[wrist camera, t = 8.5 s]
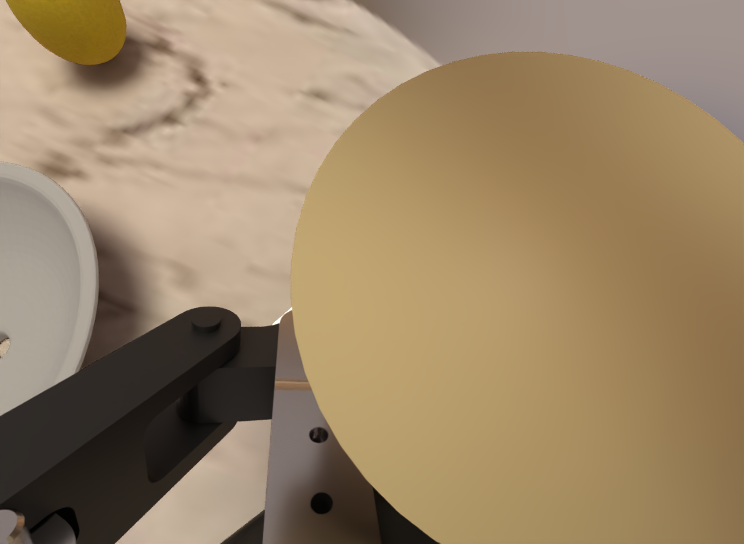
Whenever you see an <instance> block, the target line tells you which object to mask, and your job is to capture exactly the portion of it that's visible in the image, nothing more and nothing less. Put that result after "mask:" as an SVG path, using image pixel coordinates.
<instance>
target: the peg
mask: <svg viewBox="0 0 744 544" xmlns="http://www.w3.org/2000/svg"><path fill="white" fill-rule="evenodd" d="M291 305H292V313H293V322H294V330H295V336H296V340H297V344H298V348H299V352H300V355H301V359H302V363H303V367H304V371H305V374H306V376H307V379H308V381H309V383H310V386H311V388H312V391H313V393H314V396H315V398H316V401H317V403H318V406H319V408H320V410H321V412H322V414H323V415H324V417H325V419H326V421H327V423H328V424H329V426H330V428H331V430H332V431H333V433H334V435H335V437H336V438H337V440H338V442H339V444H340V445H341V447H342V448H343V449H344V451H345V452H346V453H347V455H348V456H349V457H350V459H351V460H352V461H353V463H354V464H355V465H356V467H357V468H358V469H359V471H360V472H361V473H362V475H363V476H364V477H365V479H366V480H367V481H368V482H369V483H370V484H371V485H372V486H373V487H374V488H375V489H376V490H377V491H378V492H379V493H380V494H381V495H382V496H383V497H384V498H385V499H386V500H387V501H388V502H389V503H390V504H391V505H392V506H393V507H394V508H395V509H396V510H397V511H398V512H399V513H400V514H401V515H403V516H404V517H405V518H406V519H408V520H409V521H410V522H412V523H413V524H414V525H415V526H417V527H418V528H419V529H421V530H422V531H423V532H424V533H426V534H427V535H428V536H430V537H431V538H432V539H433V540H435V541H437V542H439V543H440V544H744V144H743V142H742V141H740V139H739V138H737V137H736V136H735V135H734V134H733V133H731V132H730V131H729V130H728V129H727V128H726V127H724V126H723V125H722V124H721V123H719V122H718V121H717V120H716V119H715V118H714V117H712V116H711V115H709V114H708V113H706V112H705V111H704V110H702V109H700V108H699V107H698V106H696V105H695V104H693V103H692V102H690V101H689V100H688V99H686V98H684V97H682V96H681V95H679V94H677V93H675V92H673V91H672V90H670V89H668V88H666V87H664V86H662V85H661V84H659V83H657V82H654V81H652V80H650V79H647V78H645V77H643V76H640V75H638V74H636V73H633V72H631V71H629V70H625V69H622V68H619V67H616V66H613V65H610V64H607V63H604V62H600V61H595V60H591V59H586V58H581V57H577V56H572V55H563V54H555V53H545V52H507V53H498V54H489V55H481V56H477V57H472V58H468V59H464V60H459V61H454V62H452V63H449V64H446V65H443V66H440V67H438V68H435V69H432V70H429V71H426V72H424V73H422V74H421V75H419V76H417V77H415V78H413V79H411V80H409V81H407V82H405V83H403V84H401V85H399V86H398V87H396V88H395V89H393V90H392V91H390V92H389V93H387V94H386V95H384V96H383V97H381V98H380V99H378V100H377V101H376V102H375V103H374V104H373V105H371V106H370V107H369V108H368V109H367V110H366V111H365V112H363V113H362V114H361V115H360V116H359V117H358V118H357V119H356V120H355V121H354V122H353V123H352V124H351V125H350V126H349V128H348V129H347V130H346V131H345V132H344V133H343V135H342V136H341V137H340V138H339V139H338V140H337V142H336V143H335V144H334V146H333V147H332V149H331V151H330V152H329V154H328V155H327V157H326V158H325V160H324V161H323V163H322V164H321V166H320V168H319V170H318V172H317V174H316V176H315V178H314V180H313V182H312V185H311V187H310V189H309V191H308V193H307V195H306V198H305V201H304V205H303V208H302V211H301V215H300V218H299V221H298V224H297V228H296V234H295V240H294V247H293V253H292V260H291Z"/></svg>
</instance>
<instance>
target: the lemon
mask: <svg viewBox="0 0 744 544" xmlns="http://www.w3.org/2000/svg"><path fill="white" fill-rule="evenodd" d="M6 2H7V3H8V5H9V7H10V9H11V10H12V12H13V14H14V15H15V16H16V18H17V19H18V21H19V22H20V23H21V24H22V25H23V27H24V28H25V29H26V30H27V31H28V32H29V33H30V34H31V35H32V36H33V38H34V39H35V40H37V41H38V42H39V43H40V44H41V45H42V46H44V47H45V48H46V49H48V50H49V51H51V52H52V53H54V54H56V55H57V56H59V57H61V58H63V59H65V60H68V61H71V62H74V63H77V64H84V65H96V64H101V63H104V62H107V61H109V60H111V59H112V58H114V57H115V56H116V55H117V54H118V53H119V51H120V50H121V49H122V47H123V45H124V42H125V39H126V19H125V15H124V12H123V9H122V6H121V3H120V0H6Z"/></svg>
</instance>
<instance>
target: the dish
mask: <svg viewBox="0 0 744 544" xmlns="http://www.w3.org/2000/svg"><path fill="white" fill-rule="evenodd" d="M98 293H99V266H98V259H97V251H96V247H95V243H94V239H93V236H92V233H91V230H90V228H89V225H88V223H87V221H86V219H85V217H84V215H83V213H82V211H81V210H80V208H79V207H78V205H77V204H76V203H75V201H74V200H73V198H72V197H71V196H70V195H69V194H68V193H67V192H66V191H65V190H64V189H63V188H62V187H61V186H60V185H58V184H57V183H56V182H55V181H53V180H52V179H50V178H48V177H47V176H45V175H44V174H42V173H39V172H37V171H35V170H33V169H30V168H27V167H24V166H21V165H17V164H13V163H8V162H2V161H0V342H1V341H2V340H4V339H6V338H10V346H9V349H8V351H7V353H6V354H5V355H4V356H3V357H2V358H1V357H0V416H1V415H3V414H4V413H6V412H8V411H10V410H11V409H13V408H15V407H17V406H19V405H20V404H22V403H24V402H26V401H27V400H29V399H31V398H33V397H34V396H36V395H38V394H40V393H42V392H43V391H45V390H47V389H49V388H50V387H52V386H54V385H56V384H57V383H59V382H61V381H63V380H65V379H66V378H68V377H70V376H72V375H73V374H75V373H77V372H79V370H80V368H81V365H82V363H83V360H84V358H85V355H86V351H87V348H88V345H89V342H90V339H91V335H92V331H93V327H94V322H95V318H96V311H97V304H98Z"/></svg>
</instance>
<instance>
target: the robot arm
mask: <svg viewBox="0 0 744 544" xmlns="http://www.w3.org/2000/svg"><path fill="white" fill-rule="evenodd" d="M268 419H272V423H271V436H270V449H269V462H268V475H267V488H266V501H265V510H263V511H262V512H261V513H259V514H258V515H257V516H256V517H254V518H253V519H252V520H250V521H249V522H248V523H246V524H245V525H244V526H243V527H241V528H240V529H239V530H237V531H236V532H235V533H234V534H232V535H231V536H230V537H228V538H227V539H226V540H225V541H223V542H222V543H221V544H440V543H439V542H437V541H435V540H433V539H432V538H431V537H430V536H428V535H427V534H426V533H424V532H423V531H422V530H421V529H419V528H418V527H417V526H415V525H414V524H413V523H412V522H410V521H409V520H408V519H406V518H405V517H404V516H403V515H401V514H400V513H399V512H398V511H397V510H396V509H395V508H394V507H393V506H392V505H391V504H390V503H389V502H388V501H387V500H386V499H385V498H384V497H383V496H382V495H381V494H380V493H379V492H378V491H377V490H376V489H375V488H374V487H373V486H372V485H371V484H370V483H369V482H368V481H367V480H366V479H365V477H364V476H363V475H362V473H361V472H360V471H359V469H358V468H357V467H356V465H355V464H354V463H353V461H352V460H351V459H350V457H349V456H348V455H347V453H346V452H345V451H344V449H343V448H342V447H341V445H340V444H339V442H338V440H337V438H336V437H335V435H334V433H333V431H332V430H331V428H330V426H329V424H328V423H327V421H326V419H325V417H324V415H323V414H322V412H321V410H320V408H319V406H318V403H317V401H316V398H315V396H314V393H313V391H312V388H311V386H310V383H309V381H308V379H307V376H306V374H305V371H304V367H303V363H302V359H301V355H300V352H299V348H298V344H297V340H296V336H295V330H294V322H293V313H292V310H291V311H289V312H287V313H286V314H284V315H283V316H282V318H281V319H280V323H278V324H275V325H271V326H264V327H241V321H240V319H239V317H238V316H237V315H236V314H235V313H233V312H231V311H230V310H227V309H224V308H220V307H198V308H194V309H190V310H188V311H185V312H183V313H181V314H179V315H178V316H176V317H174V318H172V319H171V320H169V321H167V322H165V323H164V324H162V325H160V326H158V327H156V328H155V329H153V330H151V331H149V332H148V333H146V334H144V335H142V336H141V337H139V338H137V339H135V340H133V341H132V342H130V343H128V344H126V345H125V346H123V347H121V348H119V349H118V350H116V351H114V352H112V353H111V354H109V355H107V356H105V357H103V358H102V359H100V360H98V361H96V362H95V363H93V364H91V365H89V366H88V367H86V368H84V369H82V370H80V371H79V372H77V373H75V374H73V375H72V376H70V377H68V378H66V379H65V380H63V381H61V382H59V383H57V384H56V385H54V386H52V387H50V388H49V389H47V390H45V391H43V392H42V393H40V394H38V395H36V396H34V397H33V398H31V399H29V400H27V401H26V402H24V403H22V404H20V405H19V406H17V407H15V408H13V409H11V410H10V411H8V412H6V413H4V414H3V415H1V416H0V544H115V543H116V542H117V541H118V540H119V539H120V538H121V537H122V536H123V535H124V534H125V533H126V532H127V531H128V530H129V529H130V528H131V527H132V526H133V525H134V524H135V523H136V522H137V521H139V520H140V519H141V518H142V517H143V516H144V515H145V514H146V513H147V512H148V511H149V510H150V509H151V508H152V507H153V506H154V505H155V504H156V503H157V502H158V501H159V500H160V499H161V498H162V497H163V496H164V495H165V494H166V493H167V492H168V491H169V490H170V489H171V488H172V487H173V486H174V485H175V484H176V483H177V482H178V481H180V480H181V479H182V478H183V477H184V476H185V475H186V474H187V473H188V472H189V471H190V470H191V469H192V468H193V467H194V466H195V465H196V464H197V463H198V462H199V461H200V460H201V459H202V458H203V457H204V456H205V455H206V454H207V453H208V452H209V451H210V450H211V449H212V448H213V447H214V446H215V445H216V444H217V443H218V442H220V441H221V440H222V439H223V438H224V437H225V436H226V435H227V434H228V433H229V432H230V431H231V430H232V429H233V427H234V426H235V425H236V423H237V421H252V420H268Z"/></svg>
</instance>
